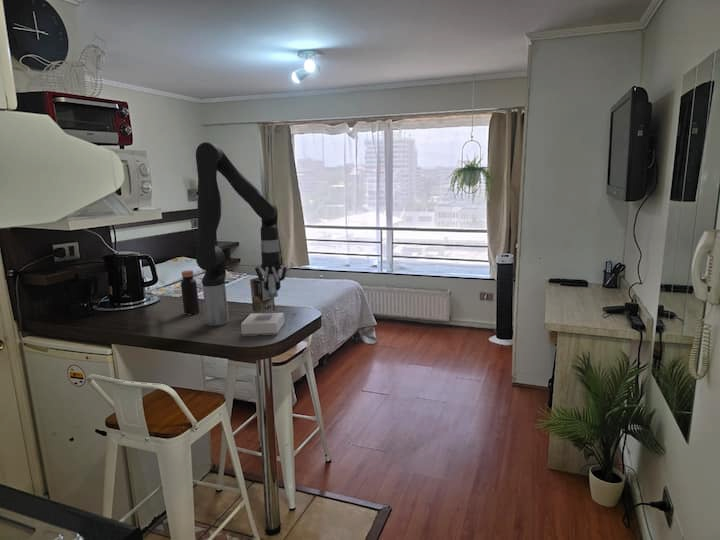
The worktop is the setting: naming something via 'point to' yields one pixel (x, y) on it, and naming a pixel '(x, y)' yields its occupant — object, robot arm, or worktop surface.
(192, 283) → the bottle
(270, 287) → the peg
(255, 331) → the socket block
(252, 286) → the coffee box
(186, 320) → the worktop surface
